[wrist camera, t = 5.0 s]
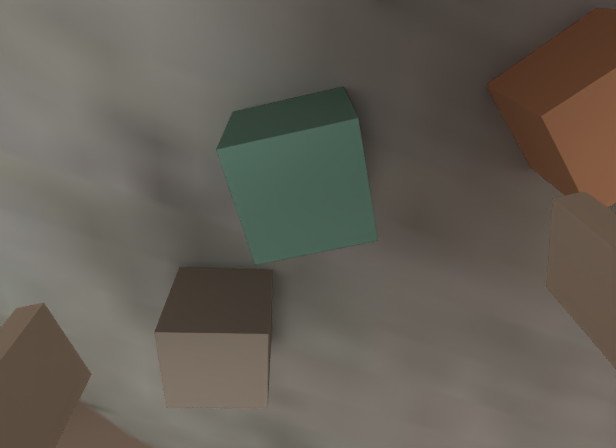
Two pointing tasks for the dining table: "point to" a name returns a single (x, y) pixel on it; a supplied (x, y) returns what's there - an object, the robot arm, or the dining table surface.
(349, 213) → the teal cube
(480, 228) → the dining table surface
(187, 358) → the taupe cube
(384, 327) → the dining table surface
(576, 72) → the terracotta cube
